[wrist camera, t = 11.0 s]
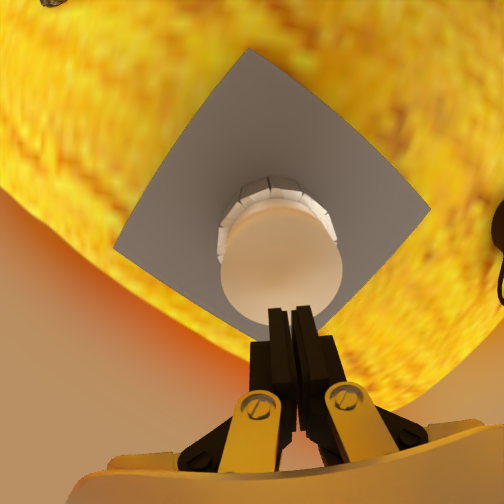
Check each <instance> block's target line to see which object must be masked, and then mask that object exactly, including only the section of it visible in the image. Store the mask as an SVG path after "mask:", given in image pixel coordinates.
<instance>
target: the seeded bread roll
mask: <svg viewBox="0 0 504 504" xmlns="http://www.w3.org/2000/svg"><path fill="white" fill-rule="evenodd" d="M64 1H65V0H40V2H41V4H42V5H43V6H47V7H53V6H57V5H59V4H60V3H62V2H64Z"/></svg>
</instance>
